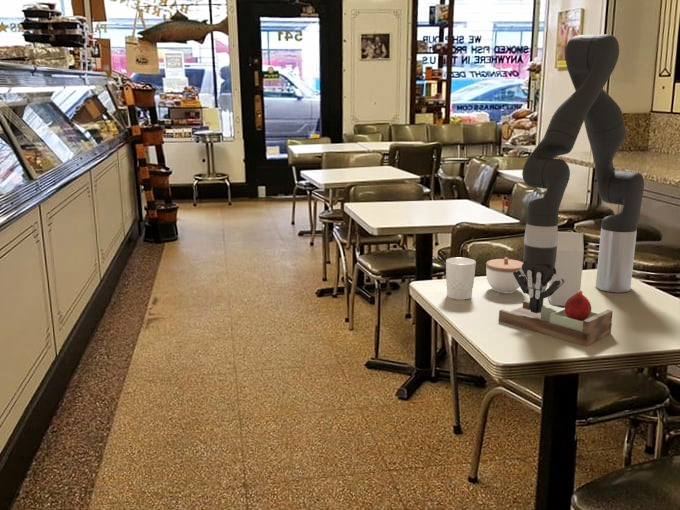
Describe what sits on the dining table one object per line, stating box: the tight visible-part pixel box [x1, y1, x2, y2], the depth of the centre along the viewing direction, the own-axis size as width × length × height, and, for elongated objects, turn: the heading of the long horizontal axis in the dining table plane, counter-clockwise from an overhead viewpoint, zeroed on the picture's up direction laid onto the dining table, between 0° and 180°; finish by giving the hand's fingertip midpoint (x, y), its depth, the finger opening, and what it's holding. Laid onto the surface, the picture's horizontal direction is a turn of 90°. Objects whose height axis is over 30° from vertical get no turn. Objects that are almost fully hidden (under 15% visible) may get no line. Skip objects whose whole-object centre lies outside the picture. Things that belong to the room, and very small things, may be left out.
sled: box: [541, 303, 600, 332], centre depth 158 cm, size 9×13×3 cm
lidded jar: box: [485, 257, 524, 293], centre depth 190 cm, size 11×11×9 cm
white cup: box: [445, 256, 476, 301], centre depth 184 cm, size 8×8×10 cm
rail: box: [498, 300, 614, 347], centre depth 161 cm, size 11×23×6 cm, turn 43°
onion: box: [564, 289, 592, 321], centre depth 156 cm, size 6×6×8 cm
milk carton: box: [547, 231, 585, 307], centre depth 178 cm, size 7×7×19 cm
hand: (535, 312), depth 165 cm, fingers closed
